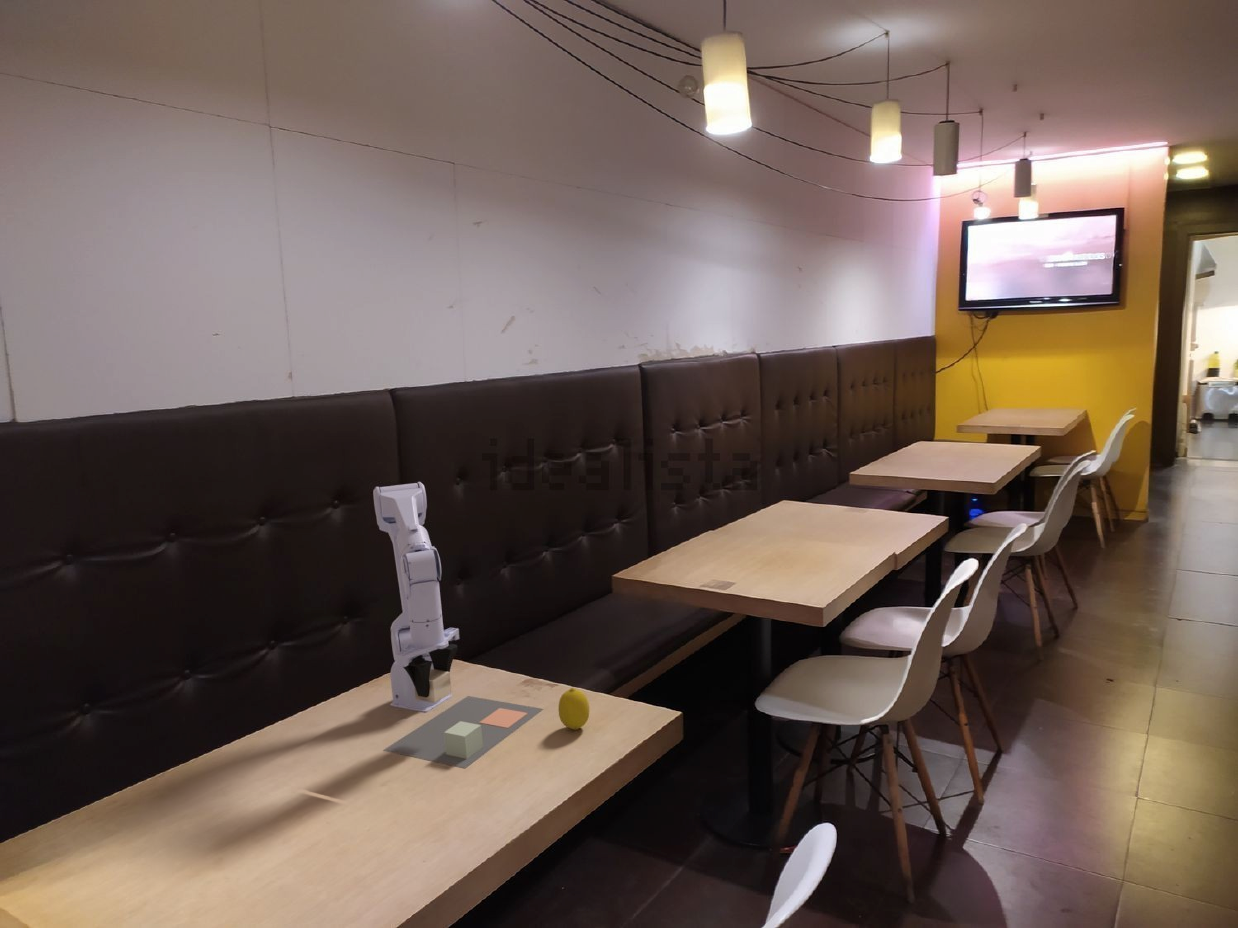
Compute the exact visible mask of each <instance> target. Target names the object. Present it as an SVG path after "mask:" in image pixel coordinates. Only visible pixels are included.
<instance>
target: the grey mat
mask: <svg viewBox="0 0 1238 928" xmlns="http://www.w3.org/2000/svg"><path fill="white" fill-rule="evenodd" d="M543 710H544V708H542V707H540V708H539V707H536V706H535V707H534V706H529V705H523V704H517V703H511V702H507V701H506V702H505V701H501V700H494V699H487V698H481V697H476V696H471V695H467V696H465V698H462V699H461V700H459V701H458V702H456V703H455V704H453V705H451V706H450V707H449V708H447V709H445V710H444V711H442V712H440V713H439V714H437V715H436V716H434V717H432V718H431V719H429V720H427V722H425V723H424V724H422V725H420V726H418V727H417V728H416V729H415V728H414V730H412V731H411V732H409V733H407V734H406V735H404V736H403V737H402V738H400V739H398V740H397V741H395V742H393V744H391V745H389V746H387V747H386V748H385V749H383V752H384V751H385V752H389V753H394V754H399V755H403V756H407V757H412V758H416V759H421V760H425V761H429V762H433V763H438V764H443V765H447V766H451V767H457V768H461V769H467V768H468V767H469V766H470V765H472V764H473V763H475V762H476V761H477V760H479V759H480V758H481V757H482V756H484V755H485V754H486V753H488V752H489V751H490V750H492V749H493V748H494V747H495V746H497V745H498V744H500V743H501V742H502V741H504V740H505V739H506V738H507V737H509V736H510V735H512V734H513V733H514V732H515V731H517V730H518V729H520V728H521V727H522V726H523V725H525V724H526V723H528V722H529V721H530V720H531V719H533V718H534V717H536V716H537V715H538V714H539V713H540V712H542V711H543ZM460 721H462V722H467V723H472V724H478V725H481V730H482V741H483V747H482V748H481V749H480V750H478V751H477V752H475V753H474V754H473V755H471V756H470V757H469V758H467V759H465V758H461V757H456V756H452V755H447V754H446V749H445V739H444V732H445V731H447V730H448V729H450V728H451V727H453V726H454V725H455V724H457V723H458V722H460Z"/></svg>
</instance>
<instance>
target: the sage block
mask: <svg viewBox="0 0 1238 928" xmlns="http://www.w3.org/2000/svg"><path fill="white" fill-rule="evenodd" d="M444 739H445V749H446V754H447V755H452V756H456V757H461V758H465V759H467V758H469V757H470V756H471V755H473V754H474V753H475V752H477V751H478V750H480V749H481V748H482V747H483V741H482V730H481V725H478V724H472V723H467V722H462V721H460V722H458V723H457V724H455V725H454V726H453V727H451V728H450V729H448V730H447V731H445V732H444Z"/></svg>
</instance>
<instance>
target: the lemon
mask: <svg viewBox="0 0 1238 928" xmlns="http://www.w3.org/2000/svg"><path fill="white" fill-rule="evenodd" d="M559 698H560V699H559V702H558V716H559V719H560V721H561V723H562V725H564V726H565V727H567V728H568V729H572V730H573V731H577V730H579V729H580V728H582V727H583V726H584V725H586V723H588V719H589V717H590V703H589V700H588V697H587V695H586V694H585V693H584V692H583V691H582V690H580V689H577V688H574V687H570V689H568V690H566V691H565V692H564V693H562V695H561V697H559Z"/></svg>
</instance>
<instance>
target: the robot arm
mask: <svg viewBox="0 0 1238 928" xmlns="http://www.w3.org/2000/svg"><path fill="white" fill-rule="evenodd" d="M372 491H373V493H372V494H373V505H374V512H375V516H376V524H377V526H378V528H379V530H380V531H382V532H385V533H388V535H389V537H390V540H391V542H392V547H393V554H394V561H395V567H396V574H397V582H398V587H399V595H400V601H401V610H402V613H400V614H399V616H397V617H396V619H395V620H393V622H392V623H391V626H390V639H391V641H390V642H391V647H392V648H391V649H392V655H393V659H394V662H393V664H391V665H392V666H391V668H390V676H389V677H390V685H391V694H392V695H391V696H392V702H391V703H390V704H389V705H390V707H391V706H392V707H395V708H400V709H405V710H412V711H416V712H422V713H428V712H430V711H432V710H433V709H435V708H436V707H438V706H440V705H441V704H443V703H444V702H446V701H448V700H449V699H451V698H452V697H453V695H452V694H449V695H448V696H446V697H444V698H443V699H441V700H439V701H438V702H436V703H432V702H427V701H422V700H416V698H415V689H416V692H417V694H418V696H421V697H428V696H429V691H430V685H429V675H430V669H435V670H441V671H447V672H450V673H451V668H452V665H453V660H454V658H455V655H456V653H457V651H458V645H457V644H454V643H452V642H453V641H457V640H460V629H459V628H458V627H457V628H456V627H449V628H447V629H444V623H443V611H442V600H441V592H440V591H441V590H440V589H441V588H440V582H439V581H441V580H442V564H441V558H440V555H439V552H438V550H437V548H436V547H435V545H433V546H432V543H431V540H430V535H429V532H428V530H427V529H426V528H425V526H423V525H424V524H425V520H426V516H427V515H426V514H427V508H428V504H427V503H428V502H427V500H428V499H427V492H426V488H425V485H424V484H423V483H422V482H421V481H417V482H414V483H405V484H396V485H390V486H389V485H388V486H375V487H374V489H373V490H372ZM438 580H439V581H438ZM414 686H415V689H414Z"/></svg>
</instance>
